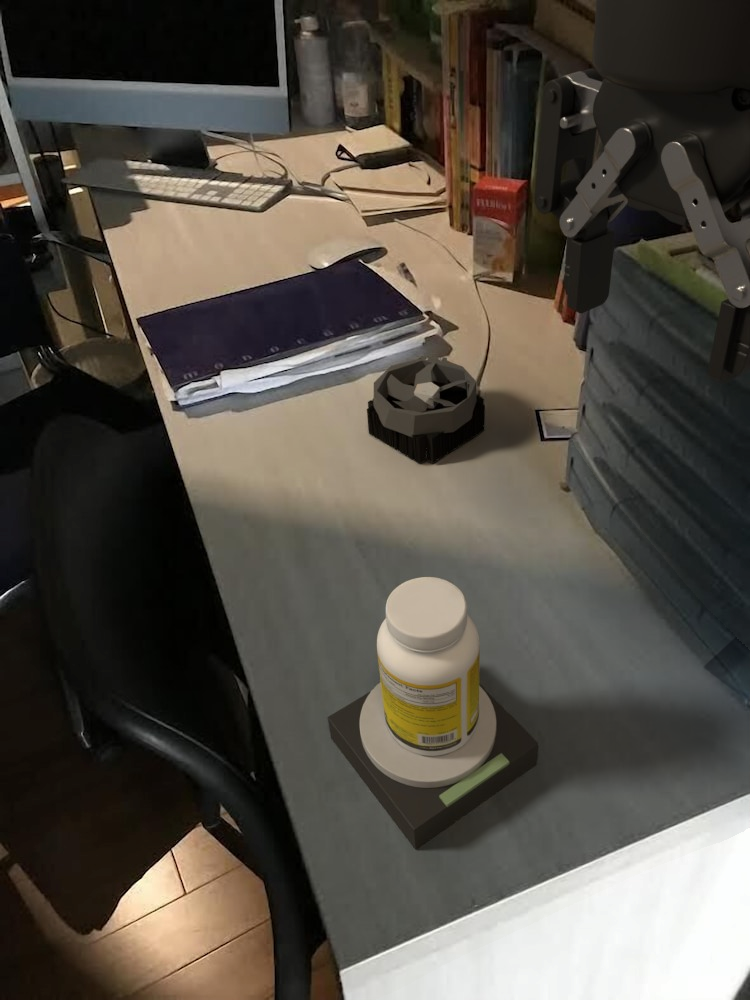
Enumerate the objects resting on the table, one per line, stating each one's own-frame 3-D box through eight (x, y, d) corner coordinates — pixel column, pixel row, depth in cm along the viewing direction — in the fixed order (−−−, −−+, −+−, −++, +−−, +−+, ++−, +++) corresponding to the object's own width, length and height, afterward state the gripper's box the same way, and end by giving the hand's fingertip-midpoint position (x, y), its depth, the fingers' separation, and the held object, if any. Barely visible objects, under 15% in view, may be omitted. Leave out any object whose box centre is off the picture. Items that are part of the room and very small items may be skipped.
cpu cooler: (423, 426, 76) (350, 385, 82) (425, 475, 80) (355, 433, 86) (499, 380, 81) (425, 345, 87) (497, 428, 85) (426, 391, 91)
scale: (536, 764, 56) (539, 736, 53) (415, 850, 52) (413, 823, 50) (444, 668, 62) (443, 639, 60) (330, 738, 58) (325, 710, 56)
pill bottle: (434, 665, 58) (430, 551, 51) (498, 720, 54) (503, 606, 47) (365, 715, 56) (351, 602, 48) (428, 778, 52) (422, 665, 45)
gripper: (991, -90, 25) (842, 370, 36) (634, -101, 35) (599, 265, 45) (838, -50, 22) (725, 437, 33) (495, -74, 32) (492, 310, 42)
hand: (652, 337), depth 39 cm, fingers open, 8 cm apart
